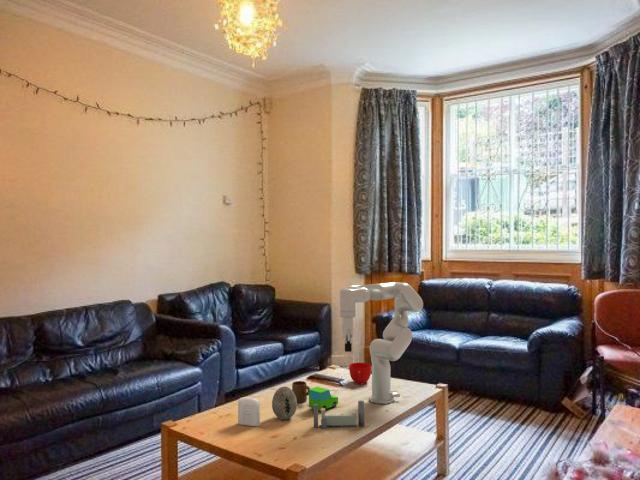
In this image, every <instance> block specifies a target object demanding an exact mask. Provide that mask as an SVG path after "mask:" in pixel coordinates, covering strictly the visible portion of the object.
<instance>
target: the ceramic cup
mask: <svg viewBox="0 0 640 480" xmlns="http://www.w3.org/2000/svg"><path fill="white" fill-rule="evenodd" d="M348 370H349V377H350V378H351V380H352V381H353V382H354V383H355V384H356V385H364V384H366V383H367V382H368V381H369V379H370V378H371V376H372V364H370V363H367V362H352V363H350V364H349V365H348Z"/></svg>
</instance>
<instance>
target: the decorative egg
mask: <svg viewBox="0 0 640 480" xmlns="http://www.w3.org/2000/svg"><path fill="white" fill-rule="evenodd" d="M272 396H273V397H272V403H271V407H272V412H273V414H274V415H275V416H276V417H277V418H278V419H281V420H289V419H291V418H292V417H294V415H295V414H296V411H297V408H298V403H297V399H296V396H295V394H294V392H293V391H292V388H290V387H288V386H281V387H278V388H277V389H276V390H275V392H274V394H273V395H272Z"/></svg>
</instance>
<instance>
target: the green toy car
mask: <svg viewBox="0 0 640 480" xmlns="http://www.w3.org/2000/svg"><path fill="white" fill-rule="evenodd" d="M313 404H318V411H320V412H321V408H325V412H326V410H327V409H329V408H332V409H334V408H336V407H337V405H338V404H339V397H338V396H335V395H332V394H331V392H330V389H328V388H325V387H320V386H314V387H312V388H310V389H309V395H308V408H310V409H312V410H313Z"/></svg>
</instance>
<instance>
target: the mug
mask: <svg viewBox="0 0 640 480" xmlns="http://www.w3.org/2000/svg"><path fill="white" fill-rule="evenodd" d="M309 389H311V388H310V386H308V385H307V382H306V381H303V380H302V381H301V380H299V381H298V380H297V381H293V382H292V384H291V390H292V391H293V392H294V394H295V396H296V399H297V404H304V403H306V402H307V400H308V397H309Z"/></svg>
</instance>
